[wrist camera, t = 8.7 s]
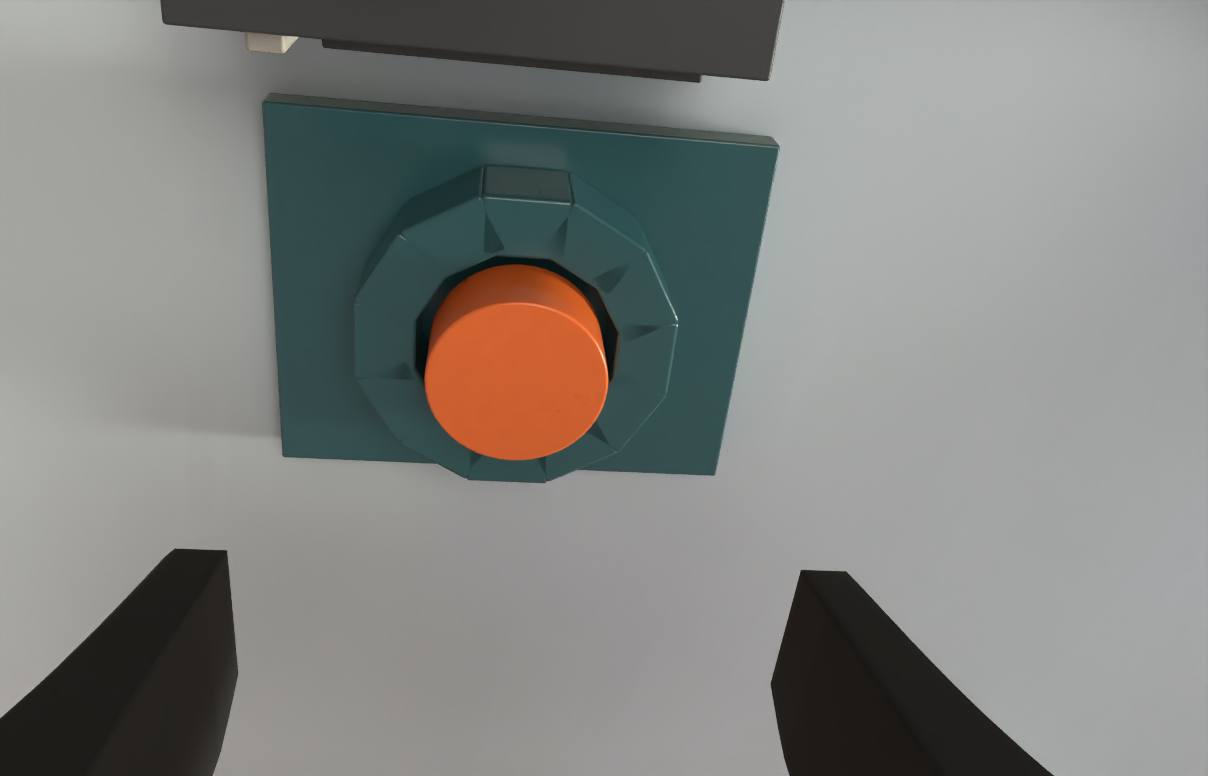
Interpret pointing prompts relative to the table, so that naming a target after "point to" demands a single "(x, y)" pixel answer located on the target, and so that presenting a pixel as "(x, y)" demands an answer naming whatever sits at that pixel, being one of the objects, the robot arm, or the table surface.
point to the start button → (516, 363)
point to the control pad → (506, 237)
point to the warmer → (518, 31)
